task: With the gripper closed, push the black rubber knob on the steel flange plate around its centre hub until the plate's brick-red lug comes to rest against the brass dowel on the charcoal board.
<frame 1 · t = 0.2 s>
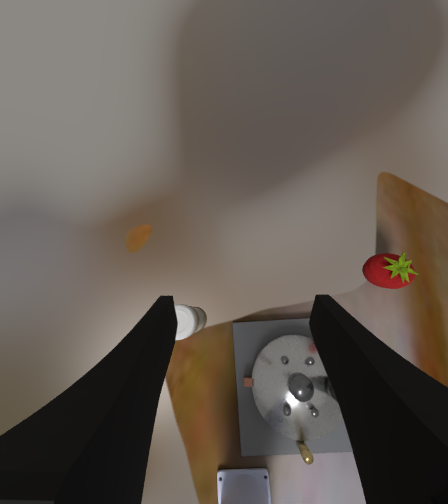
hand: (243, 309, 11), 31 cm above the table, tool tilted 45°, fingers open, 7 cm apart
brass dowel: (298, 438, 35), resting on charcoal board
strawberry: (368, 276, 42), on the table
sprinkles bottle: (195, 319, 41), on the table
charcoal board: (294, 379, 37), on the table
flange plate: (296, 387, 34), point 4 cm above the table, hinge at -80.0°
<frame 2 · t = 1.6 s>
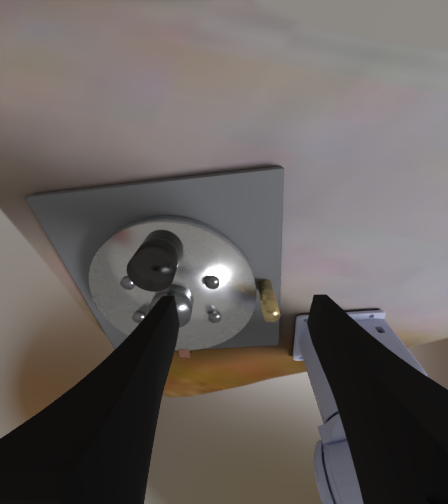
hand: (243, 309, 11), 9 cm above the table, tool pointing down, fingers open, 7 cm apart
brass dowel: (263, 278, 22), resting on charcoal board
charcoal board: (179, 280, 22), on the table
flange plate: (174, 311, 19), point 4 cm above the table, hinge at -80.0°
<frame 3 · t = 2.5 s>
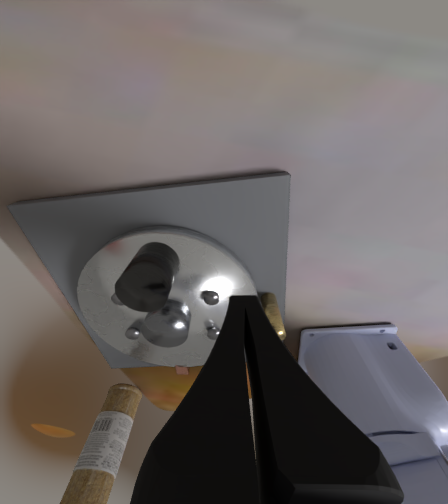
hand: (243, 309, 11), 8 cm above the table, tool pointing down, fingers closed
brass dowel: (266, 290, 20), resting on charcoal board
sprinkles bottle: (127, 389, 30), on the table
charcoal board: (176, 292, 21), on the table
flange plate: (170, 329, 18), point 4 cm above the table, hinge at -80.0°
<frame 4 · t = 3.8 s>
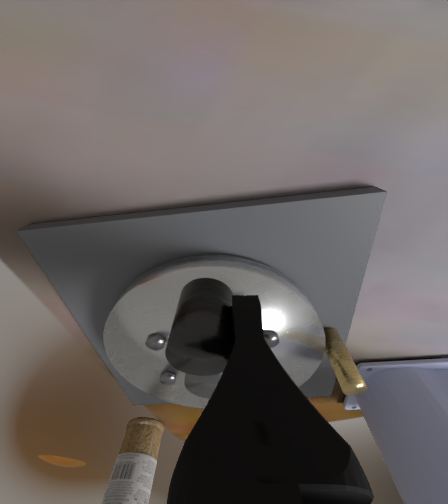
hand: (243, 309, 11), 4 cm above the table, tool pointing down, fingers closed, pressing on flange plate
brass dowel: (322, 322, 17), resting on charcoal board
sprinkles bottle: (147, 421, 27), on the table
charcoal board: (216, 325, 17), on the table
flange plate: (216, 376, 14), point 4 cm above the table, hinge at -78.4°, touching gripper
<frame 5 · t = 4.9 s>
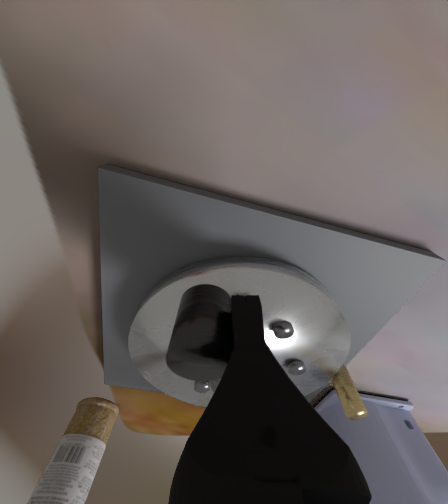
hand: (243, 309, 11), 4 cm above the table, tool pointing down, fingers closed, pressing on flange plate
brass dowel: (327, 348, 19), resting on charcoal board
sprinkles bottle: (101, 403, 25), on the table
charcoal board: (236, 326, 17), on the table
flange plate: (243, 376, 14), point 4 cm above the table, hinge at -38.9°, touching gripper
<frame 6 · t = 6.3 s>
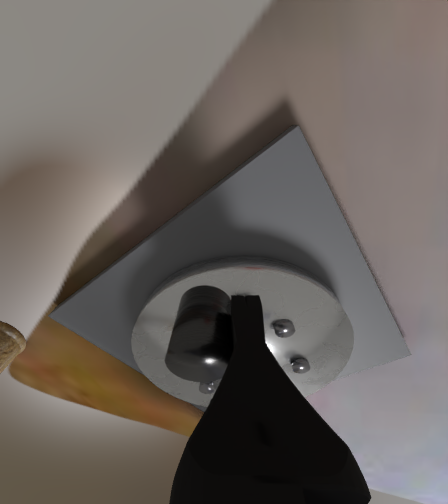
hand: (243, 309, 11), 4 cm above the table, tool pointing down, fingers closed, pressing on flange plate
sprinkles bottle: (2, 332, 19), on the table
charcoal board: (238, 326, 17), on the table
flange plate: (246, 376, 14), point 4 cm above the table, hinge at 2.0°, touching gripper
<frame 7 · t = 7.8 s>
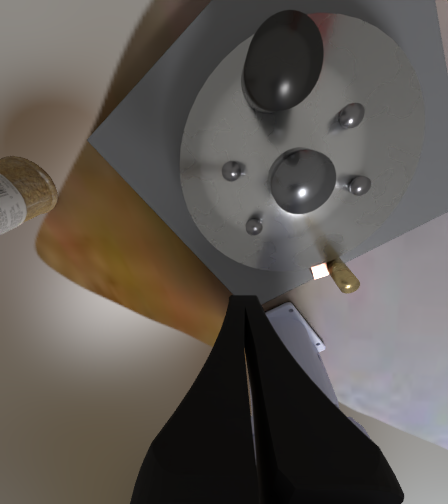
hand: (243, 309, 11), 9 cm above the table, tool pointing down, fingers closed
brass dowel: (323, 250, 20), resting on charcoal board
sprinkles bottle: (33, 185, 18), on the table
charcoal board: (285, 169, 16), on the table
flange plate: (304, 189, 13), point 4 cm above the table, hinge at 2.3°, touching brass dowel
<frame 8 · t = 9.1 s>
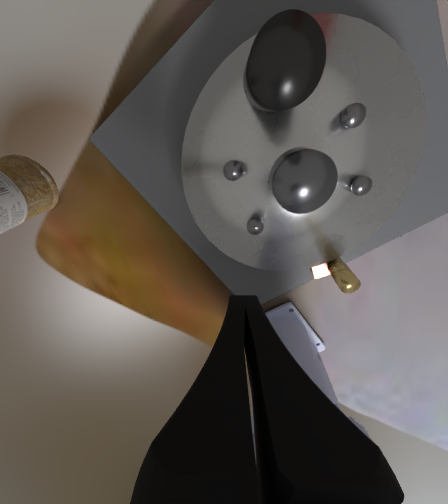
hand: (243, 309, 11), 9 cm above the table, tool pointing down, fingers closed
brass dowel: (324, 251, 20), resting on charcoal board
sprinkles bottle: (34, 184, 18), on the table
charcoal board: (286, 169, 16), on the table
flange plate: (305, 188, 13), point 4 cm above the table, hinge at 2.3°, touching brass dowel
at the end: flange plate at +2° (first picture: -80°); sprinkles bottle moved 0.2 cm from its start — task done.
